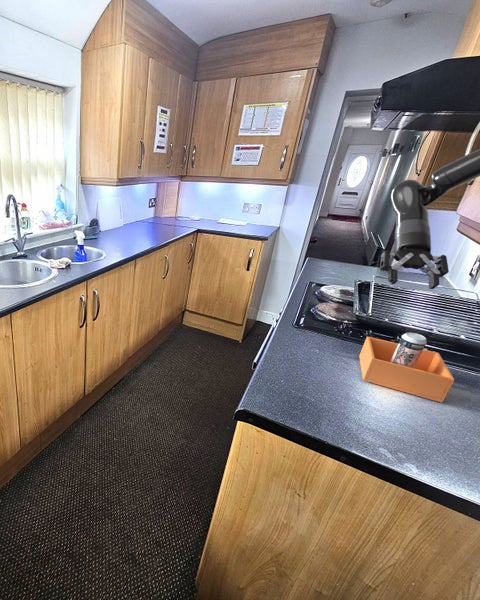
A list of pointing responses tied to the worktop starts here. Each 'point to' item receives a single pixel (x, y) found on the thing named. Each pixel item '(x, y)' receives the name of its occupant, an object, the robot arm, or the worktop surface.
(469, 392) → the worktop surface
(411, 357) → the beer can
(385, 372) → the tote
